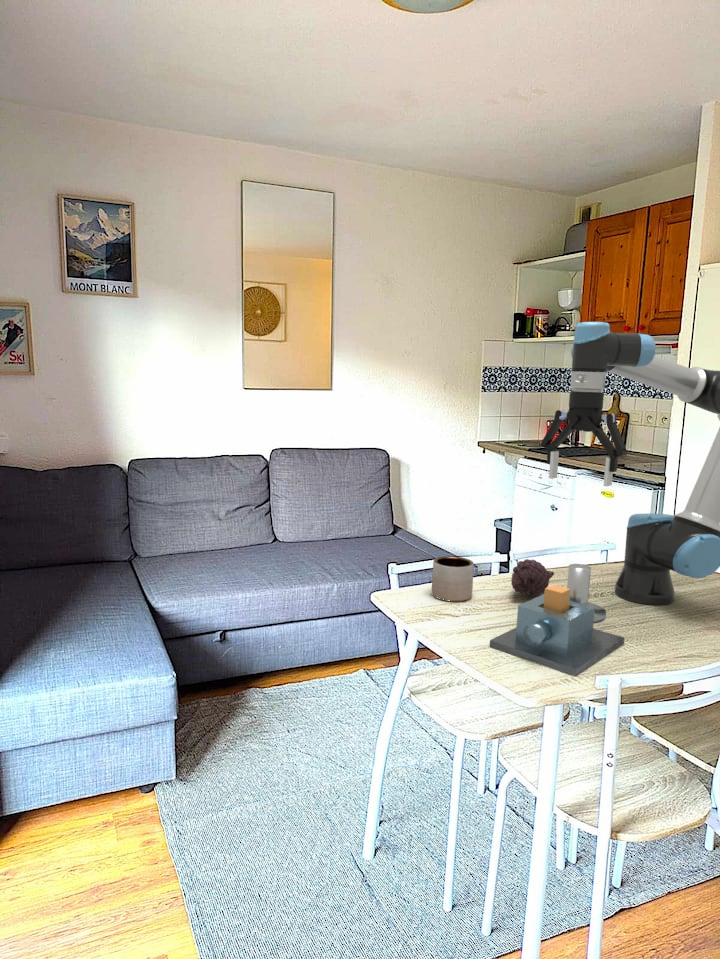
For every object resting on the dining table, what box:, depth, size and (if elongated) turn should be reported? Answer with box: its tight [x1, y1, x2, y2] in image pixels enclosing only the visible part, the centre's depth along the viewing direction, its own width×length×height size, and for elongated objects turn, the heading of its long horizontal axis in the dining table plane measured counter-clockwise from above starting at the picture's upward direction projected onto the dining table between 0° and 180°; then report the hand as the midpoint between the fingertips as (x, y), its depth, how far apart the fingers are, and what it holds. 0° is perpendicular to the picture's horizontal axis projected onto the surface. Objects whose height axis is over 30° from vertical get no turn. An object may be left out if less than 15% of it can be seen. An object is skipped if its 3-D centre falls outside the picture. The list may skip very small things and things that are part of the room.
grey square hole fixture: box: [489, 563, 625, 677], centre depth 151 cm, size 26×20×16 cm
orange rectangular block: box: [543, 584, 571, 613], centre depth 149 cm, size 4×4×12 cm
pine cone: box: [510, 558, 555, 597], centre depth 184 cm, size 18×10×10 cm, turn 137°
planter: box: [431, 555, 475, 602], centre depth 182 cm, size 11×11×10 cm
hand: (579, 481), depth 160 cm, fingers open, 13 cm apart
